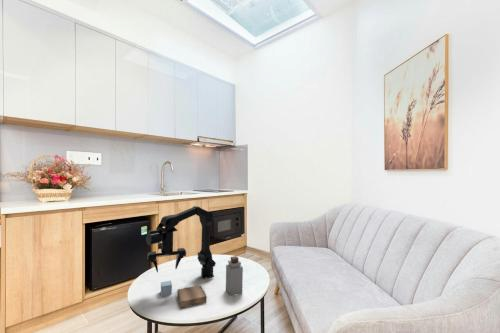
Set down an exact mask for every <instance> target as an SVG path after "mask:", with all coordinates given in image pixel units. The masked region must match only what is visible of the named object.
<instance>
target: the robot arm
mask: <svg viewBox="0 0 500 333" xmlns="http://www.w3.org/2000/svg"><path fill="white" fill-rule="evenodd" d="M195 215H196V216H198V217H199V222H200V224H201V250H200V251H197V260H198V262H199V264H200V265H201V269H200V272H201V273H200V275H201V277H202V279H208V278H209V279H210V278H213V277H215V275H214V267H216V264H217V263H216V261H215V260H214V259H213V254H212V251H211V249H210V247H211V246H210V245H211V238H210V237H211V225H212V223H213V219H214V214H213V212H212V211H209V210H205V209H204V208H202V207H201V206H195V205H194V206H192V207H191V208H188V209H186V210H184V211H181V212H179V213H176V214H168V215H164V216H163V217H161V220H160V222H159V224H158V225H157V227H156V228H155V229H154V230H153V229H152V230H151V229H150V230H148V232H147V234H146V237H145V241H146V244H147V245H148V246H151V245H156V244H157V250H160V252H157V251H156V250H155V251H149V252H147V261H148V262H150V263H152V264H153V267H154V268H155V270H156V273H158V272H159V268H158V259H157V258H161V257H169V256H176V258H175V266H174V267H175V269H174V270H177V269H178V266H179V264H180V262H181V260H182V259H184V257H186V256H187V250H186V249H185V248H184V247H180V248H177V249H176V250H174V232H177V231H178V229H177V228H176V226H177V225H178V224H179V223H180V222H182V221H184V220H187V219H188V218H191V217H194V216H195Z"/></svg>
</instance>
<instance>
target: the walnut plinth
mask: <svg viewBox="0 0 500 333" xmlns="http://www.w3.org/2000/svg"><path fill="white" fill-rule="evenodd" d="M176 292H177V293H176V294H177V295H176V296H177V299H178V302H179V305H180V309H184V308H187V307H193V306H197V305H201V304H205V303H207V298H208V297H207V294H206V293H205V290H204V289H203V287H202V285H201V284H200V285H199V284H198V285H193V286H188V287H184V288H183V287H182V288H179V289H177V291H176Z"/></svg>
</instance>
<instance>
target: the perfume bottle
mask: <svg viewBox="0 0 500 333" xmlns="http://www.w3.org/2000/svg"><path fill="white" fill-rule="evenodd" d="M243 270H244V268H243V265H242V262H241V261H240V260H239V257H238V256H236V255H235V256H230V259H229V260H227V264H225V291H226V292H227V294H228V296H230V297H232V296H236V295H240V294H243V282H244V281H243V280H244V279H243V278H244V277H243V276H244V275H243V274H244V271H243Z"/></svg>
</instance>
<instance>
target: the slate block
mask: <svg viewBox="0 0 500 333" xmlns="http://www.w3.org/2000/svg"><path fill="white" fill-rule="evenodd" d="M172 293H173V283H172V280H165V281H161V282H160V296H161V297H165V296H169V295H172Z"/></svg>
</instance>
